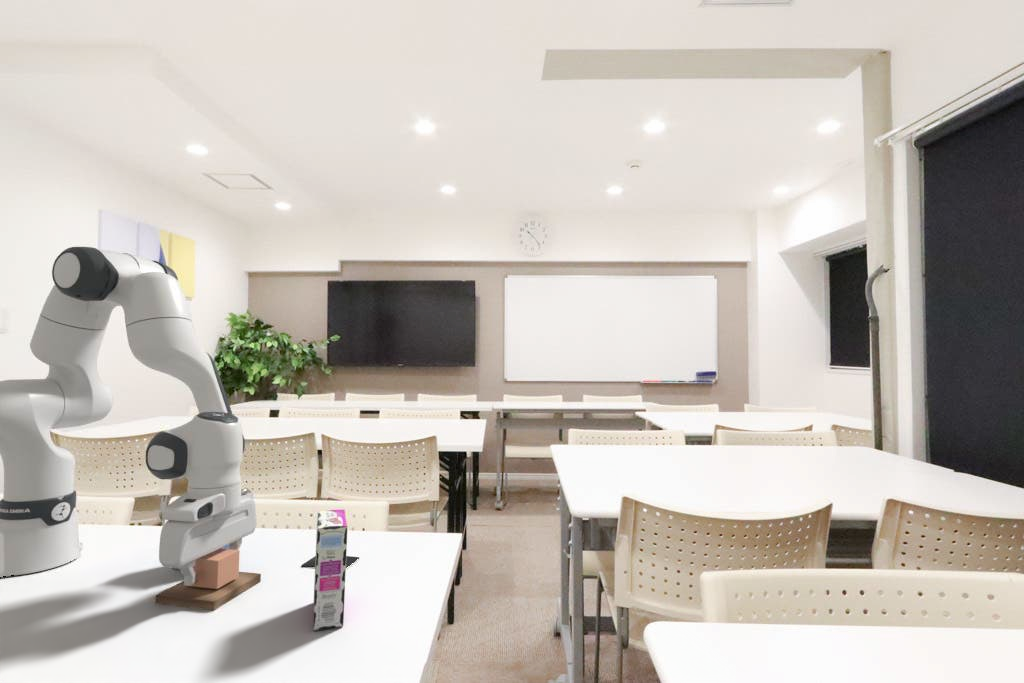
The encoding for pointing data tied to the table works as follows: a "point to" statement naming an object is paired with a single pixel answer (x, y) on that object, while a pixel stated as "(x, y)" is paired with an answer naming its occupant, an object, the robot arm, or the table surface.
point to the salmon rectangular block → (217, 568)
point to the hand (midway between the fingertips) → (211, 573)
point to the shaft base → (207, 593)
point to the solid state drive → (312, 561)
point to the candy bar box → (330, 570)
